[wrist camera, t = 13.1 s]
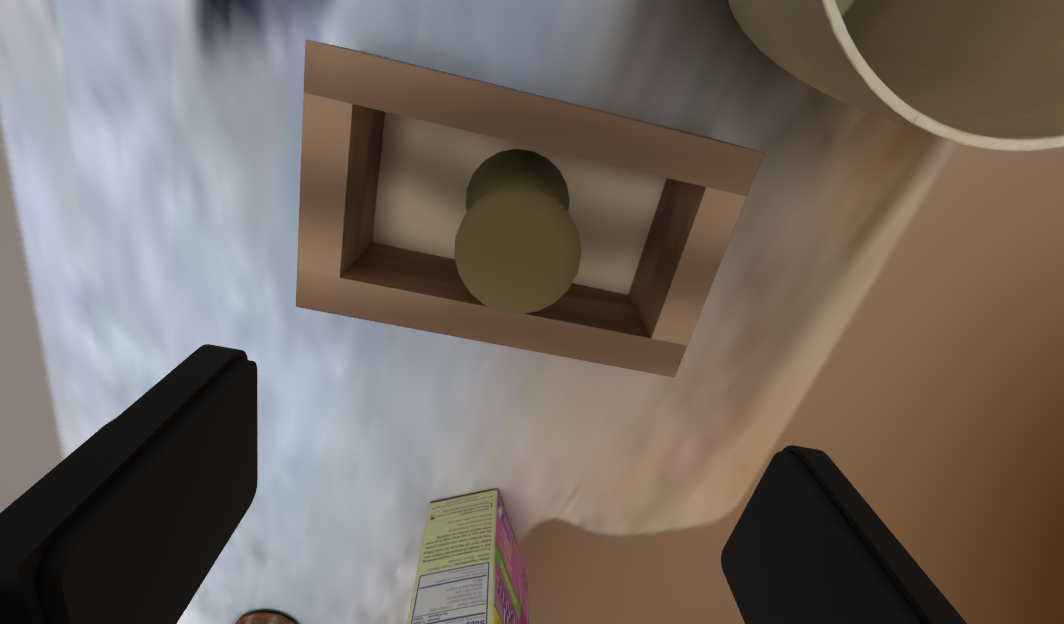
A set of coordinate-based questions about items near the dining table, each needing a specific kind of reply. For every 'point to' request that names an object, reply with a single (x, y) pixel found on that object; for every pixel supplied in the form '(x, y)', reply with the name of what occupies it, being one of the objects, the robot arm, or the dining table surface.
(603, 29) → the dining table surface
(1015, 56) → the plant pot
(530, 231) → the olive brown gourd shape
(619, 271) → the walnut well caddy
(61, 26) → the dining table surface
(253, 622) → the sauce bottle
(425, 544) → the box
